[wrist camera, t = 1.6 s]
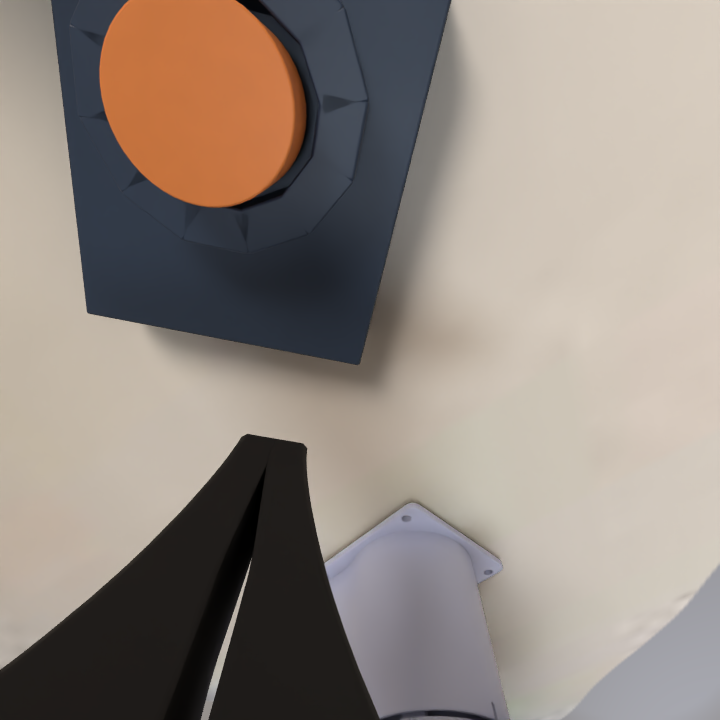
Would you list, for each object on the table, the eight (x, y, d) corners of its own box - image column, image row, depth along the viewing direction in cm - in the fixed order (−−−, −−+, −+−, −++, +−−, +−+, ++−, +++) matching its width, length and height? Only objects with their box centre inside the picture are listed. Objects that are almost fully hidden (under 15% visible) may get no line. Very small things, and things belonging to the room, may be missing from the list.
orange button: (295, 208, 12) (283, 225, 10) (147, 175, 11) (106, 186, 9) (318, 32, 10) (309, 12, 8) (140, -17, 9) (88, -48, 8)
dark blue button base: (360, 336, 18) (358, 396, 14) (121, 289, 17) (49, 339, 13) (446, -21, 12) (485, -85, 8) (92, -124, 11) (-50, -251, 7)
